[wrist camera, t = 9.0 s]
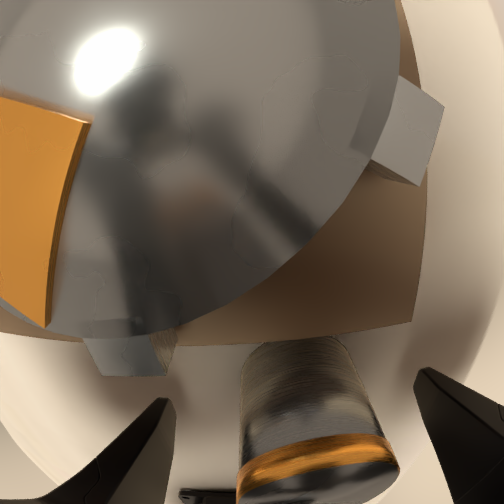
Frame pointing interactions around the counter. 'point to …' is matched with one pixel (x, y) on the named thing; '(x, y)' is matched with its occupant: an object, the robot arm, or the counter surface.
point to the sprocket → (185, 154)
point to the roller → (309, 428)
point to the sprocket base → (325, 267)
